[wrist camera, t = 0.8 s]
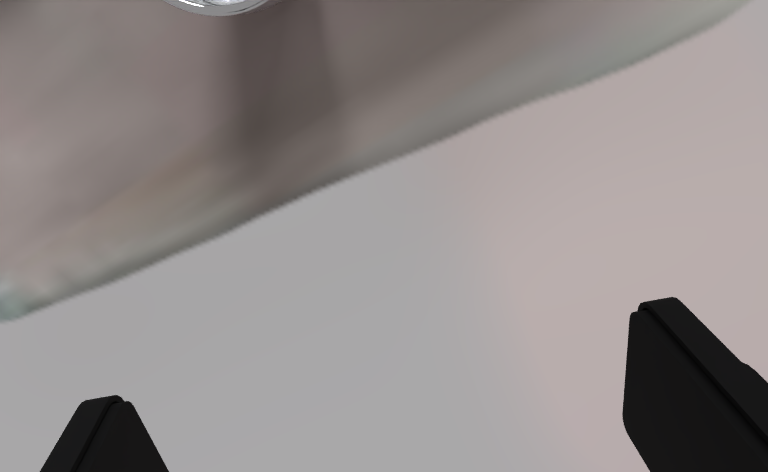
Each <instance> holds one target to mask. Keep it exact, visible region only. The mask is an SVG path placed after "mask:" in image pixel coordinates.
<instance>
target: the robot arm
mask: <svg viewBox="0 0 768 472" xmlns="http://www.w3.org/2000/svg"><path fill="white" fill-rule="evenodd" d="M623 422H624V426H625V429H626V431H627V433H628V435H629V437H630V439H631V441H632V442H633V444H634V445H635V447H636V449H637V450H638V452H639V454H640V455H641V457H642V459H643V460H644V462H645V464H646V465H647V467H648V469H649V470H650V472H768V383H767V382H766V381H765V380H764V379H763V378H762V377H761V376H760V375H759V374H758V373H757V372H756V371H755V370H754V369H752V368H751V367H750V366H749V365H747V364H745V363H742V362H741V361H740V360H739V359H738V358H737V357H736V356H735V355H734V354H733V353H732V352H731V351H730V350H729V349H728V348H727V347H726V346H725V345H724V344H723V343H722V342H721V341H720V340H719V339H718V338H717V337H716V336H715V335H714V334H713V333H712V332H711V331H710V330H709V329H708V328H707V327H706V326H705V325H704V324H703V323H702V322H701V321H700V320H699V319H698V318H697V317H696V316H695V315H694V314H693V313H692V312H691V311H690V310H689V309H688V308H687V307H686V306H685V305H684V304H683V303H682V302H681V301H680V300H678V299H677V298H674V297H670V298H664V299H658V300H653V301H647V302H643V303H640V305H639V307H638V311H637V312H633V313H631V315H630V321H629V335H628V348H627V361H626V375H625V388H624V402H623ZM40 472H169V471H168V469H167V467H166V465H165V464H164V462H163V460H162V458H161V456H160V454H159V453H158V451H157V449H156V447H155V445H154V443H153V441H152V439H151V438H150V436H149V434H148V432H147V430H146V428H145V426H144V425H143V423H142V421H141V419H140V417H139V415H138V413H137V412H136V410H135V408H134V406H133V405H132V403H131V402H129V401H126V402H124V400H123V399H122V398H121V397H120V396H118V395H114V396H108V397H102V398H97V399H91V400H86V401H84V402H82V403H81V404H80V405H79V407H78V408H77V410H76V411H75V413H74V415H73V416H72V418H71V420H70V421H69V423H68V425H67V427H66V428H65V430H64V432H63V433H62V435H61V437H60V438H59V440H58V442H57V443H56V445H55V447H54V449H53V450H52V452H51V454H50V455H49V457H48V459H47V460H46V462H45V464H44V466H43V467H42V469H41V471H40Z"/></svg>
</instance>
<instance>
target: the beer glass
mask: <svg viewBox="0 0 768 472" xmlns="http://www.w3.org/2000/svg"><path fill="white" fill-rule="evenodd" d="M163 1H165V2H166V3H168V4H170V5H172V6H174V7H177V8H179V9H181V10H184V11H187V12H190V13H194V14H199V15H204V16H216V17H219V16H232V15H242V14H249V13H254V12H258V11H261V10H264V9H267V8H269V7H272V6H274V5H276V4H278V3H279V2H281V1H283V0H163Z"/></svg>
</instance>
